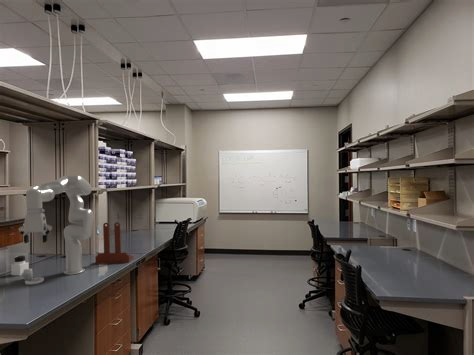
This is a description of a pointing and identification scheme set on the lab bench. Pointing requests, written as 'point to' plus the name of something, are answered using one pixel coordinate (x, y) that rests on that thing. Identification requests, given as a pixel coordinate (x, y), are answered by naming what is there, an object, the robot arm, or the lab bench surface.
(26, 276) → the white light bulb
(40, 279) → the shallow grey dish
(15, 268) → the medicine bottle
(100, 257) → the twin post bracket
